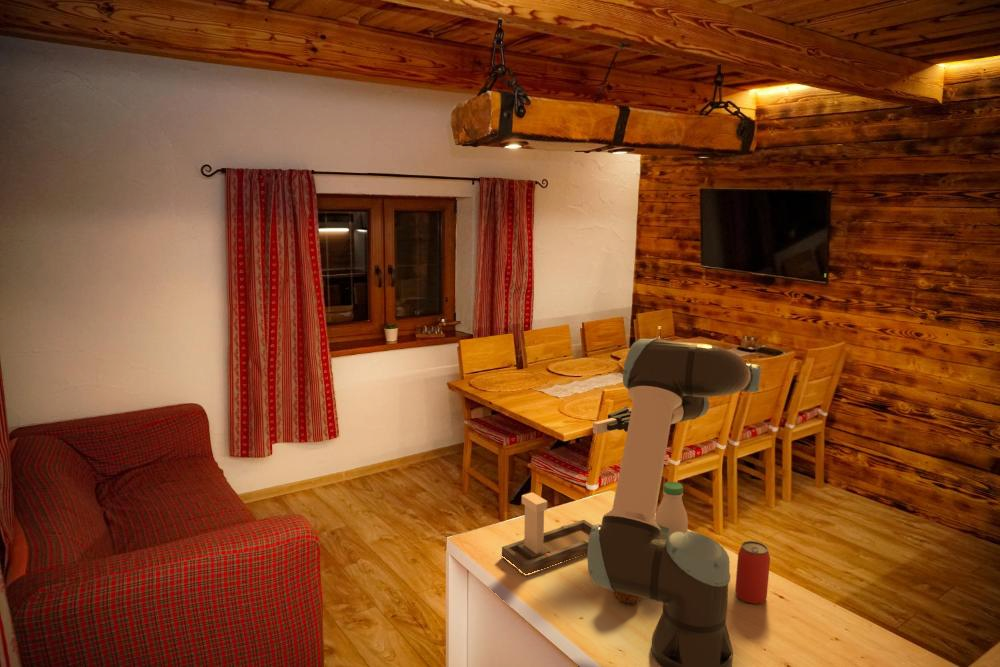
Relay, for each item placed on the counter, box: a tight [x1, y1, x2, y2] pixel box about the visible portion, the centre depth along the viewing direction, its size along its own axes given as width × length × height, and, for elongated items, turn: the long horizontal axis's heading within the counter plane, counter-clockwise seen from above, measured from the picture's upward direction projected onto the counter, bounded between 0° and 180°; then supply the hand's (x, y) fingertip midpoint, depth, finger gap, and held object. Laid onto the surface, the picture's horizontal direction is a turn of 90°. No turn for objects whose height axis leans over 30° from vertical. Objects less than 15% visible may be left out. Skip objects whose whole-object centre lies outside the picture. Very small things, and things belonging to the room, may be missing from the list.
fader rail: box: [501, 519, 595, 574], centre depth 170 cm, size 26×10×3 cm, turn 124°
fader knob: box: [517, 492, 550, 560], centre depth 165 cm, size 5×7×14 cm
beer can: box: [734, 540, 771, 605], centre depth 151 cm, size 7×7×12 cm
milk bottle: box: [655, 481, 689, 539], centre depth 164 cm, size 8×8×20 cm
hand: (595, 428), depth 171 cm, fingers closed
